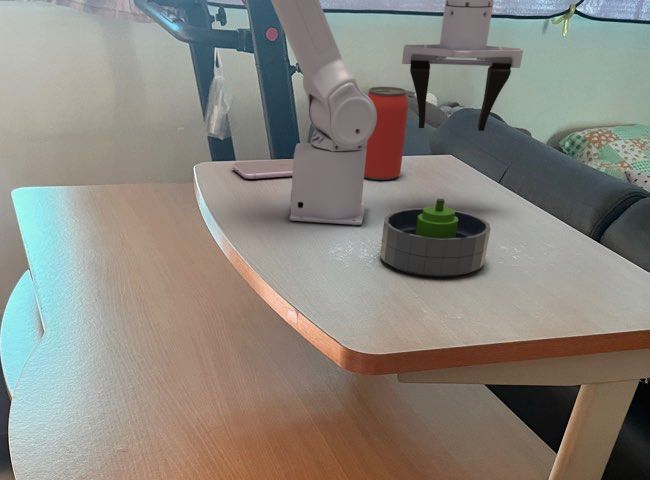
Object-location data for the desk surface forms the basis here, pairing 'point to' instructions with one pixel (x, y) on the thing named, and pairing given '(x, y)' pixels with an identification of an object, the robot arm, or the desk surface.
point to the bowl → (434, 245)
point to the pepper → (437, 221)
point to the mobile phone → (265, 169)
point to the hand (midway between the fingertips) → (451, 128)
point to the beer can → (386, 133)
